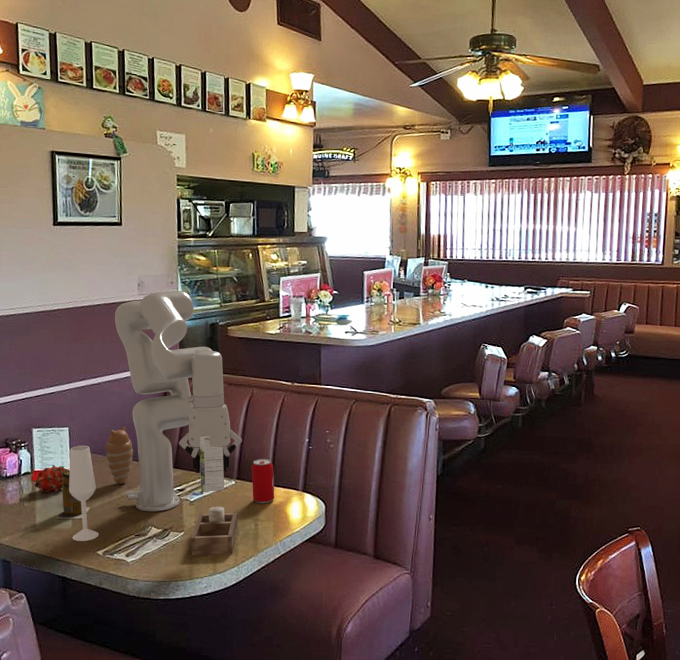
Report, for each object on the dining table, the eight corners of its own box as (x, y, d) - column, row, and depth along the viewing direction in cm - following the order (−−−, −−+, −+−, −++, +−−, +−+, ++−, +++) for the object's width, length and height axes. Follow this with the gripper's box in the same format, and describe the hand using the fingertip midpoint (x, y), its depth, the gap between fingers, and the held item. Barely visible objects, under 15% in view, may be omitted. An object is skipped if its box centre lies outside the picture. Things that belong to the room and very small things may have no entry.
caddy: (191, 555, 196) (190, 528, 195) (200, 530, 212) (198, 505, 211) (232, 553, 196) (231, 527, 195) (237, 529, 212) (236, 504, 211)
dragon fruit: (73, 489, 250) (40, 506, 241) (57, 471, 253) (24, 487, 244) (78, 472, 245) (45, 489, 236) (62, 454, 248) (28, 469, 239)
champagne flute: (66, 539, 207) (60, 450, 204) (83, 529, 213) (77, 443, 210) (87, 542, 205) (81, 452, 202) (104, 532, 211) (98, 445, 208)
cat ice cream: (125, 477, 257) (122, 423, 254) (140, 482, 252) (137, 427, 249) (102, 484, 250) (98, 429, 247) (117, 489, 245) (113, 433, 242)
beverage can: (276, 497, 236) (274, 458, 234) (272, 504, 230) (270, 464, 228) (255, 496, 236) (254, 458, 235) (251, 504, 230) (249, 464, 229)
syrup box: (200, 485, 202) (197, 430, 200) (223, 483, 203) (221, 428, 201) (201, 492, 196) (198, 435, 194) (225, 490, 197) (222, 433, 195)
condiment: (90, 507, 230) (87, 468, 228) (82, 518, 222) (79, 477, 220) (65, 508, 230) (62, 468, 228) (55, 519, 221) (52, 478, 220)
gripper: (171, 405, 192) (175, 476, 195) (242, 403, 193) (245, 474, 196) (175, 399, 200) (179, 467, 202) (244, 396, 201) (247, 465, 203)
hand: (211, 470), depth 199 cm, fingers closed on syrup box, 6 cm apart
